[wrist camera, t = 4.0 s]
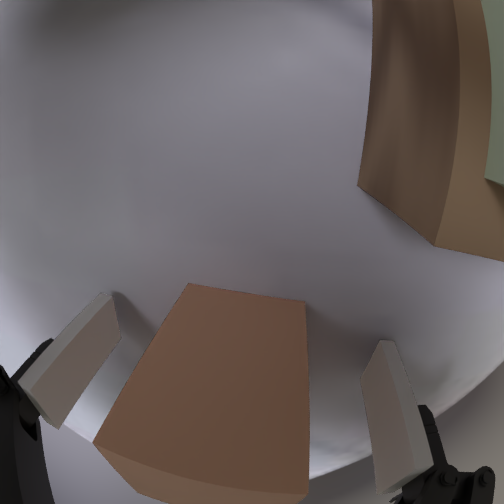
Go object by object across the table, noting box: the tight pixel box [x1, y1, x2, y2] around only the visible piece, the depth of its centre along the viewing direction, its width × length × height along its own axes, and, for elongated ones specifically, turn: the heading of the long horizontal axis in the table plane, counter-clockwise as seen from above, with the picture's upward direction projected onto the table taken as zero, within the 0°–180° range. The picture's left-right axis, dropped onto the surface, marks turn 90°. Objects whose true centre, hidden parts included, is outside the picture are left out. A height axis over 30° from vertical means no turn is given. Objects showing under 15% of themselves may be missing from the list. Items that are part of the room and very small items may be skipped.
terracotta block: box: [92, 283, 310, 504], centre depth 9 cm, size 5×5×8 cm
